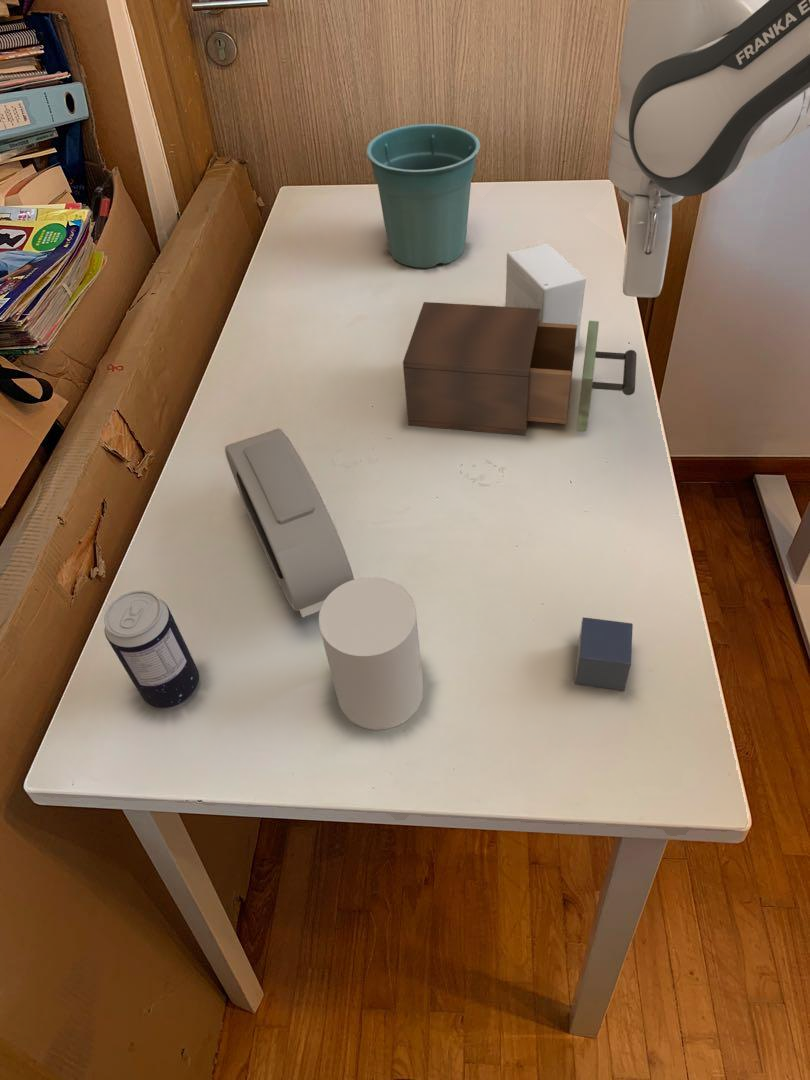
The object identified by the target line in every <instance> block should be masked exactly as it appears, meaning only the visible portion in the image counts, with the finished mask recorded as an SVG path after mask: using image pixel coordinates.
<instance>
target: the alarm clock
mask: <svg viewBox="0 0 810 1080" xmlns="http://www.w3.org/2000/svg"><path fill="white" fill-rule="evenodd" d="M224 452H225V457H226V460H227V463H228V465H229V468H230V472H231V475H232V477H233V479H234V483H235V484H236V487H237V490H238V492H239V495H240V497H241V500H242V503H243V505H244V507H245V509H246V512H247V515H248V517H249V520H250V522H251V524H252V526H253V529H254V532H255V533H256V536H257V538H258V541H259V543H260V544H261V547H262V550H263V552H264V554H265V557H266V558H267V561H268V563H269V565H270V567H271V569H272V572H273V574H274V576H275V579H276V580H277V582H278V585H279V586H280V588H281V590H282V592H283V594H284V596H285V599H286V600H287V602H288V603H289V605H290V607H291V609H292V610H293V611H297V612H298V611H299V613H300V616H301V618H303V619H304V618H306V617H307V616H310V615H314V614H315V613H318V612H320V609H321V607H322V604H323V603H324V601H325V599H326V598H327V597H328V596H329V594H330V593H331V592H332V591H334V590H335V589H336V588H337V587H339V586H341V585H342V584H344V583H346V582H349V581H351V580H354V579H355V577H354V573H353V569H352V566H351V564H350V560H349V558H348V556H347V553H346V550H345V548H344V545H343V542H342V540H341V538H340V536H339V533H338V530H337V528H336V526H335V524H334V522H333V520H332V518H331V515H330V513H329V511H328V508H327V506H326V504H325V502H324V499H322V495H321V494H320V492H319V490H318V487H317V486H316V484H315V482H314V480H313V478H312V476H311V474H310V473H309V470H308V469H307V467H306V465H305V463H304V462H303V460H302V458H301V456H300V454H299V453H298V451H297V449H296V448H295V446H294V445H293V443H292V441H291V440H290V439H289V437H288V436H287V434H286V433H285V432H284V431H283V429H281V428H274V429H272V430H269V431H266V432H263V433H259V434H257V435H254V436H251V437H248V438H245V439H242V440H239V441H236V442H233V443H230V444H226V446H225V447H224Z"/></svg>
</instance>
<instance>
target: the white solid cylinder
mask: <svg viewBox="0 0 810 1080" xmlns="http://www.w3.org/2000/svg"><path fill="white" fill-rule="evenodd" d="M318 626H319V630H320V635H321V638H322V642H323V646H324V647H323V648H324V650H325V654H326V659H327V662H328V666H329V670H330V673H331V678H332V682H333V687H334V691H335V694H336V698H337V702H338V706H339V708H340V710H341V712H342V713H343V714H344V716H345V717H346V718H347V719H348V720H349V721H350V722H352V723H353V724H354V725H357V726H359V727H360V728H363V729H366V730H375V731H377V730H378V731H380V730H381V731H382V730H389V729H393V728H396V727H398V726H400V725H402V724H404V723H405V722H407V721H408V720H410V719H411V718H412V717H413V716H414V715H415V714H416V712H417V711H418V710H419V708H420V706H421V705H422V701H423V698H424V692H425V691H424V690H425V689H424V679H423V670H422V668H423V667H422V658H421V657H422V656H421V648H420V639H419V638H420V637H419V628H418V627H419V626H418V619H417V607H416V604H415V601H414V599H413V597H412V595H411V594H410V593H409V592H408V590H407V589H405V587H403V586H402V585H401V584H399V583H397V582H395V581H393V580H391V579H388V578H384V577H379V576H366V577H364V576H363V577H359V578H358V577H357V578H354V580H351V581H349V582H346V583H344V584H342V585H341V586H339V587H337V588H336V589H335V590H334V591H332V592H331V593H330V594H329V596H328V597H327V598H326V599H325V601H324V603H323V604H322V607H321V609H320V611H319V613H318Z"/></svg>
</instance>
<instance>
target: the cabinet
mask: <svg viewBox="0 0 810 1080" xmlns="http://www.w3.org/2000/svg"><path fill="white" fill-rule="evenodd" d="M539 322H540V309H535V308H518V307H505V306H499V305H483V304H482V305H481V304H464V303H448V302H431V301H424V302H423V303H422V306H421V309H420V313H419V315H418V318H417V321H416V323H415V326H414V329H413V331H412V334H411V337H410V340H409V344H408V347H407V350H406V352H405V355H404V358H403V361H402V366H403V367H402V368H403V369H402V371H403V380H404V392H405V402H406V403H405V405H406V416H407V425H408V426H412V427H424V428H435V429H447V430H459V431H470V432H480V433H481V432H482V433H492V434H502V435H503V434H504V435H516V436H526V435H527V428H528V424H529V421H527V407H528V389H529V372H530V366H531V361H532V355H533V350H534V344H535V339H536V334H537V328H538V323H539Z"/></svg>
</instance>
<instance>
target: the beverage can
mask: <svg viewBox="0 0 810 1080" xmlns="http://www.w3.org/2000/svg"><path fill="white" fill-rule="evenodd" d="M103 623H104V636H105V638H106V640H107V641H108V643H109V646H110V647H111V648H112V650H113V651H114V653H115V655H116V656H117V658H118V660H119V662H120V664H121V665H122V667H123V668H124V670H125V672H126V673H127V675H128V677H129V679H130V680H131V682H132V683H133V685H134V687H135V689H136V690H137V692H138V694H139V695H140V697H141V699H142V700H143V702H144V703H146V704H148V705H149V706H150V707H153V708H158V709H169V708H172V707H176V706H178V705H181V704H182V703H183V702H185V701H187V700H188V699H189V698H190V697H191V696H192V695H193V694H194V692H195V691H196V689H197V687H198V684H199V683H200V682H199V681H200V673H199V669H198V667H197V665H196V663H195V661H194V658H193V656H192V654H191V652H190V650H189V648H188V646H187V644H186V642H185V639H184V637H183V635H182V633H181V631H180V629H179V626H178V624H177V622H176V621H175V619H174V616H173V614H172V612H171V610H170V608H169V606H168V604H167V603H166V602H165V601H164V600H162V599H161V598H159V597H158V596H157V595H155V594H154V593H153V592H150V591H148V590H134V591H129V592H127V593H124V594H122V595H120V596H119V597H117V598H115V600H113V601H112V602H111V603H110V604H109V605H108V606H107V609H106V611H105V613H104V617H103Z"/></svg>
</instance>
